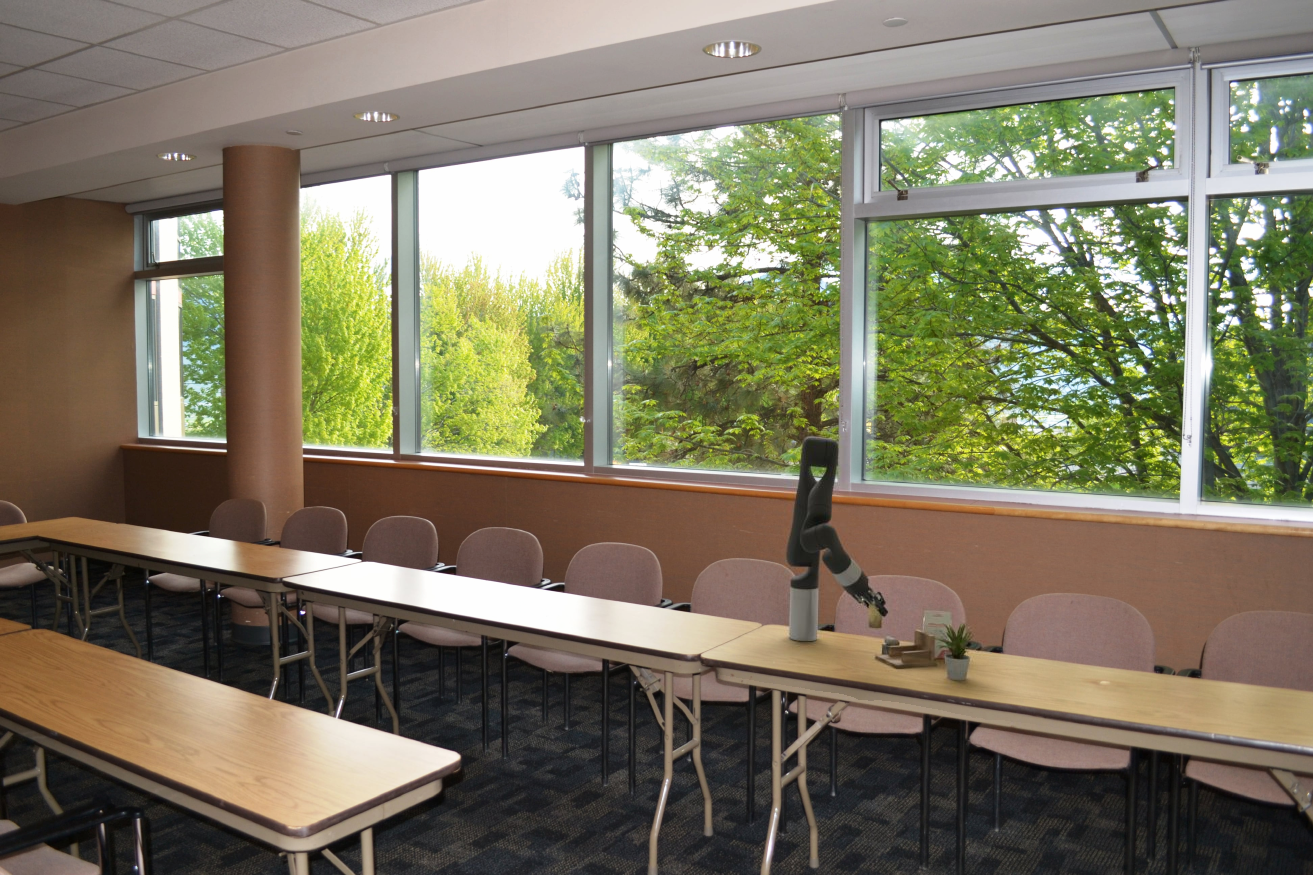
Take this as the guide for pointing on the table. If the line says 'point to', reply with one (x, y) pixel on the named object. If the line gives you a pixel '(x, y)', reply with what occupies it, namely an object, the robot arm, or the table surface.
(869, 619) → the spacer
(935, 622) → the ink cartridge box
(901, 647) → the cradle
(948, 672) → the house plant
